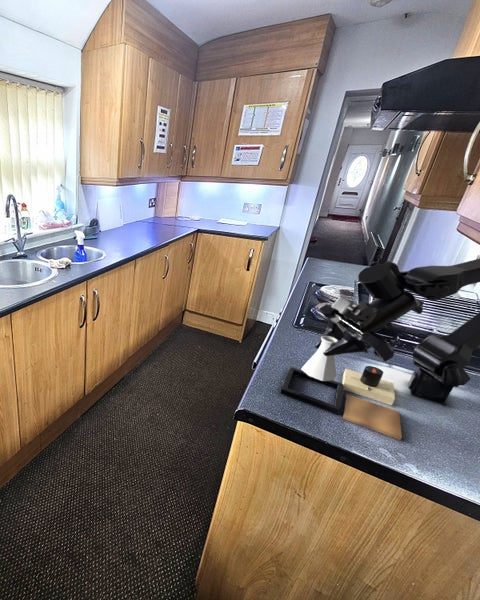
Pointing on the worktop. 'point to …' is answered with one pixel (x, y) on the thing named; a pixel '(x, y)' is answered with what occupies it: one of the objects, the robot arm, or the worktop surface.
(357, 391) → the cream flat block
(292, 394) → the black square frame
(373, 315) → the robot arm
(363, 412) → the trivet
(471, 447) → the worktop surface
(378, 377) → the knob
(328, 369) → the flask
